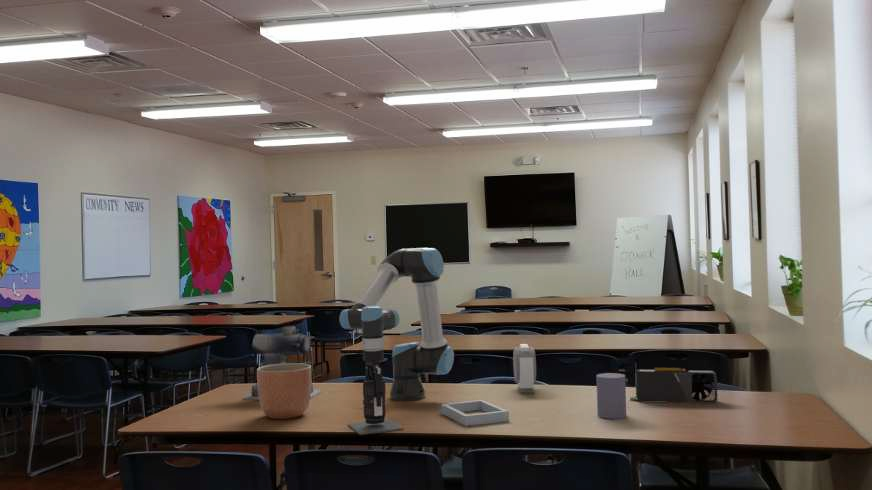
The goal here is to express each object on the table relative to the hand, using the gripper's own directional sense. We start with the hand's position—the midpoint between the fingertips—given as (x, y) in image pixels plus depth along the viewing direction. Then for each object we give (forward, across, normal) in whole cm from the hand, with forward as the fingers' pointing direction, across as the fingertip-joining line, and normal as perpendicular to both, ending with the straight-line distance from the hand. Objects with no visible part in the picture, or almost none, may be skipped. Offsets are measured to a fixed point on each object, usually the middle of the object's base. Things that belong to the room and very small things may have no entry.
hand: (374, 413), depth 268 cm
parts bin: (+5, +2, +38) cm, 38 cm away
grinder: (+6, -78, -20) cm, 81 cm away
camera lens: (+3, 0, 0) cm, 3 cm away
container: (+6, +25, +83) cm, 87 cm away
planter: (+5, -35, -26) cm, 44 cm away
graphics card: (+6, +14, +119) cm, 120 cm away
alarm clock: (+6, -35, +79) cm, 86 cm away
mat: (+5, 0, 0) cm, 5 cm away
